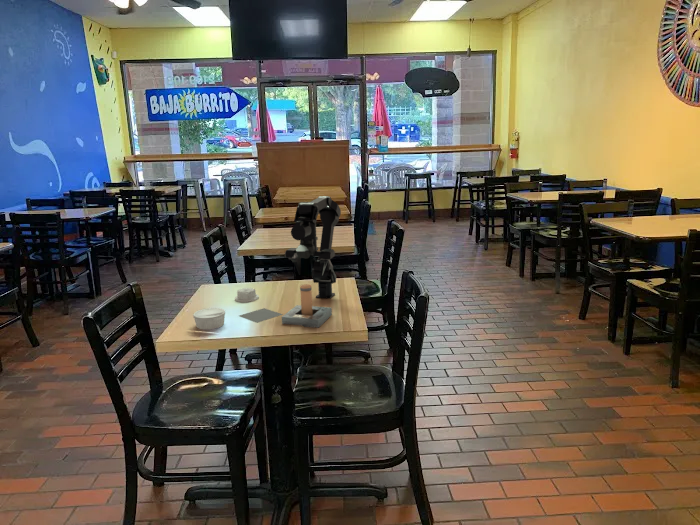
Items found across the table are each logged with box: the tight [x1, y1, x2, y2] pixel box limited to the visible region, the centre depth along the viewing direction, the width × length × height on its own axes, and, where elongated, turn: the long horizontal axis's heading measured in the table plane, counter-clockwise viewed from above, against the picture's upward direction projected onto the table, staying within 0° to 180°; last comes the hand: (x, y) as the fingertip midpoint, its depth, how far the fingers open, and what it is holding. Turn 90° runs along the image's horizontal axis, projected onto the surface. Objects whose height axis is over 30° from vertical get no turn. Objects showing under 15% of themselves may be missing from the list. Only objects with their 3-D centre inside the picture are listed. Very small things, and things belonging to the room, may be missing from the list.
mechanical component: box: [234, 287, 260, 303], centre depth 223 cm, size 10×4×10 cm
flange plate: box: [281, 304, 333, 329], centre depth 195 cm, size 14×14×3 cm
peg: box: [299, 283, 313, 316], centre depth 194 cm, size 4×4×13 cm
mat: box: [238, 307, 284, 324], centre depth 201 cm, size 12×12×1 cm
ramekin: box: [192, 307, 226, 331], centre depth 192 cm, size 11×11×5 cm
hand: (310, 275), depth 208 cm, fingers open, 9 cm apart
